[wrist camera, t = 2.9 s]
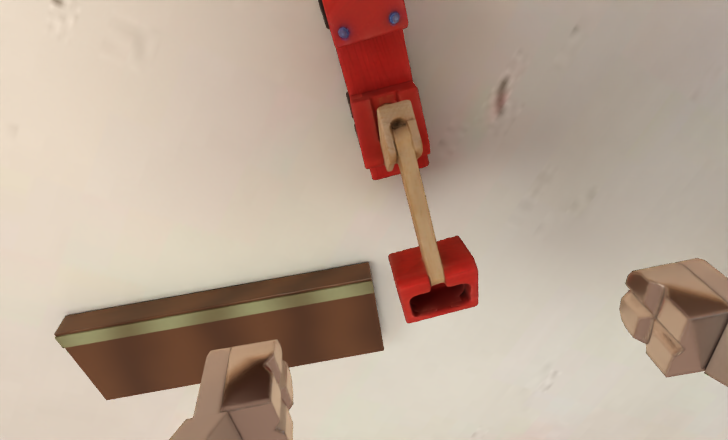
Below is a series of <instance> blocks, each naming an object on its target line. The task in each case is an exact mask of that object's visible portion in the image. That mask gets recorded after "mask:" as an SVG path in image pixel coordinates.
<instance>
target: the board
mask: <svg viewBox="0 0 728 440" xmlns="http://www.w3.org/2000/svg"><path fill="white" fill-rule="evenodd" d="M54 335H55V336H56V337H55V339H56V340H57V341H58V343H59V344H60V345H61V346H62V348H65V349H66V350H67V351H68V352H69V354H70V355H71V356H72V357H73V359H74V360H75V361H76V362H77V364H78V365H79V366H80V367H81V369H82V370H83V371H84V372H85V374H86V375H87V376H88V377H89V379H90V380H91V381H92V383H93V384H94V385H95V386H96V388H97V389H98V390H99V391H100V393H101V394H102V395H103V396H104V398H105V399H106V400H110V399H116V398H122V397H127V396H133V395H138V394H144V393H149V392H155V391H161V390H166V389H172V388H177V387H183V386H188V385H194V384H200V383H201V379H202V375H203V370H204V366H205V361H206V357H207V355H208V354H209V352H210V351H211V350H217V349H223V348H229V347H233V346H239V345H245V344H251V343H257V342H263V341H270V340H279V342H280V345H281V347H282V360H284V361H285V362H287V364H288V366H289V367H294V366H300V365H305V364H311V363H317V362H322V361H328V360H333V359H339V358H344V357H350V356H355V355H361V354H367V353H372V352H378V351H383V350H384V346H383V340H382V335H381V329H380V323H379V317H378V312H377V306H376V300H375V294H374V288H373V283H372V277H371V271H370V266H369V262H366V263H361V264H355V265H350V266H344V267H338V268H333V269H327V270H321V271H316V272H310V273H304V274H299V275H293V276H288V277H282V278H276V279H271V280H265V281H259V282H254V283H248V284H242V285H237V286H231V287H226V288H220V289H214V290H209V291H203V292H197V293H192V294H186V295H180V296H175V297H169V298H164V299H158V300H152V301H147V302H141V303H135V304H130V305H124V306H119V307H113V308H107V309H102V310H96V311H90V312H85V313H79V314H73V315H68V316H65V318H64V319H63V321H62V323H61V324H60V326H59V327H58V329H57V331H56V332H55V334H54Z"/></svg>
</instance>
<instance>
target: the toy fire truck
mask: <svg viewBox="0 0 728 440" xmlns="http://www.w3.org/2000/svg"><path fill="white" fill-rule="evenodd" d="M318 2H319V5H320V9H321V12H322V15H323V19H324V21H325V24H326V27H327V28H328V29H330V31H331V35H332V38H333V42H334V45H335V47H336V51H337V54H338V58H339V62H340V65H341V68H342V72H343V75H344V78H345V83H346V86H347V90H348V92H347V93H346V96H347V99H348V104H349V107H350V110H351V114H352V118H354V122H355V124H354V127H355V131H356V134H357V138H358V141H359V145H360V148H361V151H362V156H363V160H364V164H365V168H366V169H370V172H371V175H372V179H373V180H379V179H382V178H387V177H389V176H393V175H397V174H401V176H402V180H403V184H404V188H405V192H406V196H407V200H408V204H409V208H410V212H411V216H412V220H413V224H414V228H415V232H416V236H417V240H418V244H419V246H418V247H415V248H410V249H406V250H403V251H398V252H396V253H391V254H389V256H388V257H389V262H390V265H391V269H392V272H393V277H394V281H395V284H396V288H397V292H398V295H399V299H400V302H401V305H402V309H403V312H404V316H405V320H406V322H407V323H412V322H417V321H421V320H424V319H428V318H432V317H436V316H439V315H444V314H447V313H451V312H455V311H459V310H462V309H467V308H471V307H475V306H476V305H478V269H477V266H476V263H475V260H474V258H473V256H472V255H471V253H470V252H469V250H468V249H467V247H466V245H465V244H464V243H463V241H462V240H461V239H460V237H459V236H455V237H451V238H446V239H444V240H440V241H437V242H436V238H435V234H434V230H433V225H432V221H431V217H430V213H429V209H428V204H427V200H426V195H425V192H424V188H423V184H422V180H421V175H420V171H419V169H420V168H423V167H426V166H428V165H429V161H428V156H427V155H428V154H430V144H429V139H428V134H427V129H426V125H425V120H424V116H423V112H422V106H421V102H420V97H419V93H418V88H417V87H416V85H415V84H414V83H413V80H412V74H411V68H410V65H409V59H408V54H407V49H406V45H405V39H404V33H403V29H404V28H407V26H408V19H407V13H406V8H405V3H404V0H318Z"/></svg>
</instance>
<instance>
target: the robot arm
mask: <svg viewBox="0 0 728 440" xmlns="http://www.w3.org/2000/svg"><path fill="white" fill-rule="evenodd" d="M625 284H626V286H627V287H628V288H629V289H630V290H629V291H628V292H627V293H626V294H625V295H624V296H623V297H622V298H621V303H620V308H619V310H620V314H621V319H622V322H623V324H624V326H625V328H626V329H627V330H628V332H629V333H630V334H631V335H632V337H633V338H635V339H637V340H639V341H641V342H643V343H645V344H646V354H647V355H648V356H649V357H650V359H651V360H652V361H653V362H654V363H655V365H656V366H657V367H658V368H659V369H660V370H661V372H662V373H663V374H664V375H665V376H666V377H672V376H678V375H683V374H689V373H695V372H701V371H705V372H704V373H705V374H707V375H709V376H710V377H712V378H714V379H715V380H717V381H719V382H720V383H722V384H724V385H725V386H727V387H728V278H727V277H725V276H724V275H723V274H722V273H720V272H719V271H718V270H717V269H715V268H714V267H713V266H712V265H710V264H709V263H708V262H707V261H705V260H702V259H699V258H695V259H690V260H685V261H680V262H675V263H669V264H664V265H659V266H654V267H649V268H644V269H639V270H634V271H632V272H631V273H630V274H629V275H628V276H627V280H626V283H625ZM292 405H293V386H292V378H291V374H290V369H289V366H288V364H287V362H285V361H284V360H282V347H281V345H280V342H279V340H270V341H263V342H257V343H251V344H245V345H239V346H233V347H229V348H223V349H217V350H211V351H210V352H209V354H208V355H207V357H206V361H205V366H204V370H203V375H202V379H201V384H200V388H199V393H198V398H197V402H196V407H195V411H194V416H193V418H190V419H186V420H185V421H184V423H183V424H182V425H181V426H180V427H179V429H178V430H177V431H176V432H175V433H174V435H173V436H172V437H171V438H170V439H169V440H293V421H292V419H291V416H290V413H289V409H290V408H291V406H292Z"/></svg>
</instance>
